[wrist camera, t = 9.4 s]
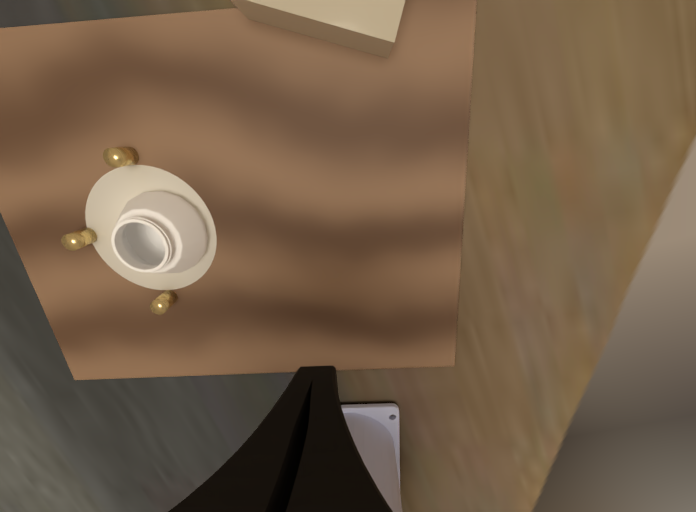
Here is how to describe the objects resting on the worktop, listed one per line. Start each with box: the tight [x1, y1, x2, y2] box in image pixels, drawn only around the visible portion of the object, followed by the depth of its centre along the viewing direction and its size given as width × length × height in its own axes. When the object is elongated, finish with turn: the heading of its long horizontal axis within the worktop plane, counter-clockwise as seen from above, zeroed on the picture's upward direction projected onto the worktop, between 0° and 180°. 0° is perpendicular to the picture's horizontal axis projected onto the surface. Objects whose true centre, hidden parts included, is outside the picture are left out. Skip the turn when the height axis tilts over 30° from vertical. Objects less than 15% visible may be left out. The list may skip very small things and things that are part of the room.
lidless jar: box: [111, 191, 208, 274], centre depth 19 cm, size 5×3×5 cm
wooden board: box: [0, 0, 477, 380], centre depth 20 cm, size 22×28×2 cm
